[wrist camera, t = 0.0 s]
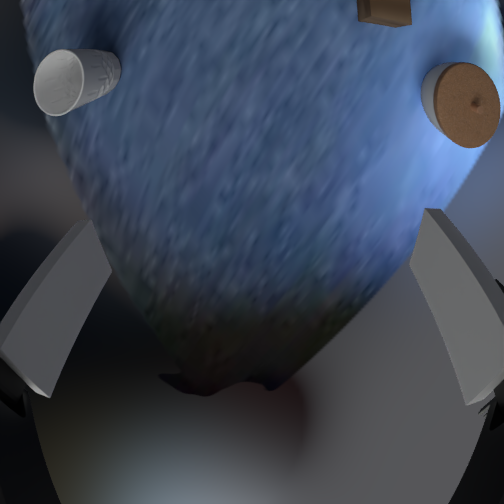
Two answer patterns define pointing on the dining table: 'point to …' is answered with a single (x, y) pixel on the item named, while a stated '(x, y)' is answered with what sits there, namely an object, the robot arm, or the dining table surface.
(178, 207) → the dining table surface
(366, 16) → the walnut cube
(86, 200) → the dining table surface
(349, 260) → the dining table surface
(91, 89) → the white cup
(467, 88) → the lidded jar
